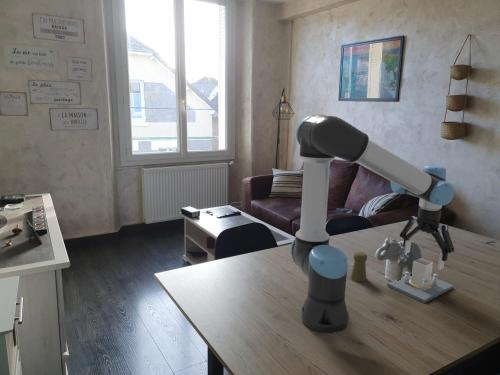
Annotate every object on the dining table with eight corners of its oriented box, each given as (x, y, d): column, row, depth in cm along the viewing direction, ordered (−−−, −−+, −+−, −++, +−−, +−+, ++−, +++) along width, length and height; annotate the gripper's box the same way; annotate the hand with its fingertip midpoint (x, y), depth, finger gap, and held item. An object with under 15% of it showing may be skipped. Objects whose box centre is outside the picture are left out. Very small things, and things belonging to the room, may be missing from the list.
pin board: (424, 303, 131) (425, 288, 130) (387, 286, 143) (388, 272, 142) (452, 288, 143) (454, 274, 141) (416, 273, 155) (418, 260, 153)
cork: (349, 279, 148) (351, 254, 146) (352, 273, 153) (354, 248, 151) (364, 283, 145) (367, 257, 143) (367, 277, 151) (369, 251, 148)
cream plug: (422, 288, 139) (425, 265, 137) (410, 282, 143) (413, 260, 141) (430, 284, 142) (433, 261, 140) (417, 279, 146) (420, 257, 144)
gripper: (470, 214, 128) (461, 271, 133) (405, 199, 148) (399, 249, 153) (459, 218, 124) (451, 276, 129) (393, 201, 144) (388, 253, 148)
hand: (422, 261), depth 141 cm, fingers open, 13 cm apart
